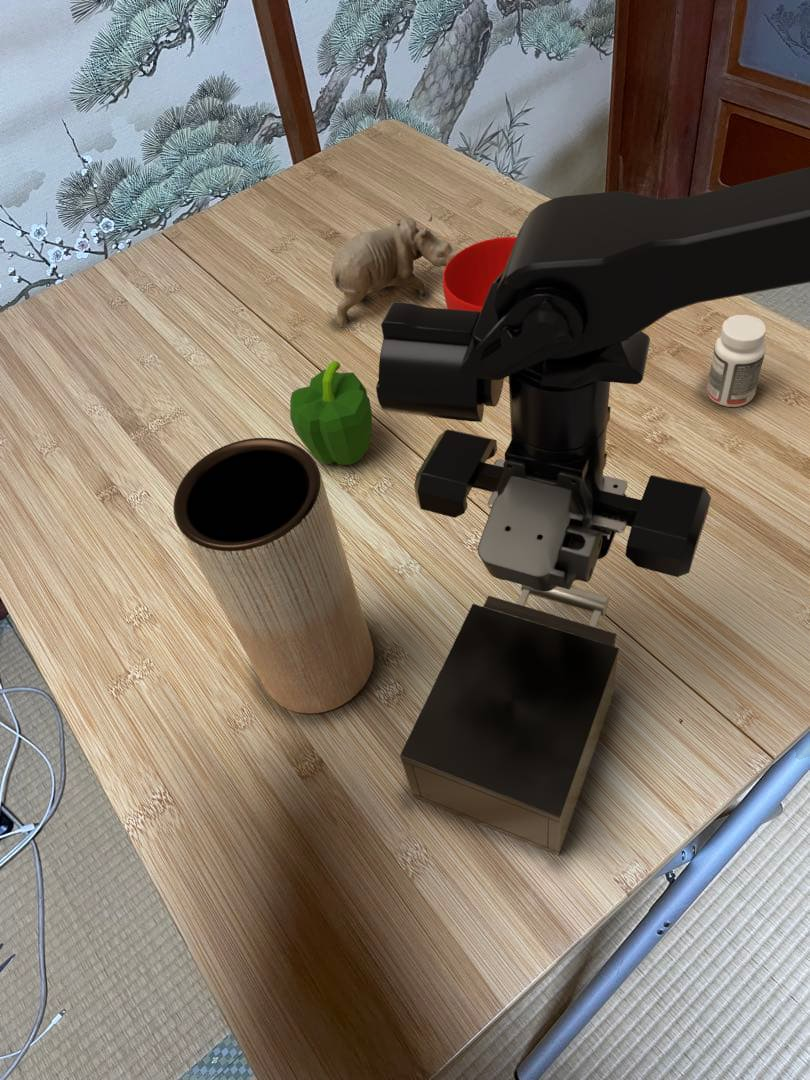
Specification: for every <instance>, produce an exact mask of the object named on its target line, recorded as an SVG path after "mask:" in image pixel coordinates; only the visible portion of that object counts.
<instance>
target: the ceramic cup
mask: <svg viewBox="0 0 810 1080" xmlns="http://www.w3.org/2000/svg"><path fill="white" fill-rule="evenodd" d="M516 238H517V236H506V237H496V238H490V239H485V240H481V241H479V242H476V243H473V244H471V245H469V246H467V247H464V248H463V249H462V250H459V251H460V252H459V253H457V254H456V255H455V256H454V257H453V258H452V259H451V260H450V261H449V263H448V264H447V265H446V266H444V267H445V268H444V270H443V273H442V289H443V296H444V301H445V304H446V309H453V310H467V311H479V312H480V313H481V310H482V308H483V305H484V302H485V300H486V297H487V295H488V292H489V290H490V287H491V285H492V283H493V282H494V281H495V279H496V278H497V277H498V276H499V275H500V274H501V272H502V271H503V270H504V269H505V267H506V264H507V262H508V259H509V256H510V254H511V251H512V249H513V246H514V243H515V241H516Z"/></svg>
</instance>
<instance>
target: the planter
mask: <svg viewBox="0 0 810 1080" xmlns="http://www.w3.org/2000/svg"><path fill="white" fill-rule="evenodd" d="M330 503H331V502H330V501H329V497H328V493H327V491H326V487H325V484H324V481H323V478H322V474H321V471H320V469H319V466H318V464H317V463H316V461H315V459H314V458H313V457H312V456H311V454H309V452H307V451H306V450H305V449H303V447H301V446H299V445H297V444H295V443H293V442H290V441H287V440H284V439H280V438H273V437H253V438H246V439H242V440H238V441H234V442H231V443H229V444H228V443H227V444H226V445H223V446H221V447H218V448H216V449H215V450H213V451H211V452H210V453H208V454H206V455H205V456H204V457H203V458H201V459H200V460H198V461H197V462H196V463H195V464H194V465H193V466H192V467H191V468H190V469H189V470H188V471H187V472H186V474H185V475H184V477H182V479H181V481H180V483H179V485H178V487H177V489H176V492H175V495H174V498H173V506H172V507H173V508H172V509H173V517H174V521H175V523H176V526H177V528H178V530H179V532H180V534H181V536H182V537H183V539H184V542H185V544H186V545H187V547H188V548H189V550H190V552H191V555H192V556H193V558H194V560H195V561H196V563H197V566H198V567H199V569H200V571H201V572H202V575H203V576H204V578H205V580H206V582H207V584H208V586H209V588H210V589H211V591H212V593H213V595H214V597H215V599H216V601H217V602H218V604H219V606H220V608H221V610H222V611H223V613H224V615H225V617H226V619H227V621H228V622H229V625H230V626H231V628H232V630H233V632H234V634H235V635H236V638H237V640H238V641H239V643H240V645H241V646H242V649H243V651H244V652H245V654H246V656H247V658H248V660H249V662H250V664H251V665H252V667H253V670H254V671H255V673H256V675H257V677H258V678H259V680H260V682H261V684H262V685H263V687H264V689H265V690H266V691H267V693H268V695H269V696H270V697H271V698H272V699H273V700H274V701H275V702H276V703H277V704H279V705H280V706H281V707H283V708H285V709H287V710H289V711H292V712H295V713H301V714H319V713H324V712H328V711H329V712H330V711H331V710H335V709H337V708H340V707H341V706H343V705H345V704H346V703H348V702H349V701H351V700H352V699H353V698H355V697H356V695H358V693H360V692H361V690H362V689H363V688H364V686H365V685H366V683H367V681H368V680H369V677H370V676H371V673H372V670H373V667H374V661H375V660H374V659H375V658H374V657H375V655H374V646H373V642H372V637H371V634H370V631H369V627H368V625H367V624H368V623H367V621H366V617H365V615H364V611H363V608H362V605H361V602H360V598H359V595H358V592H357V588H356V585H355V582H354V578H353V576H352V575H353V574H352V572H351V569H350V565H349V562H348V559H347V556H346V552H345V549H344V546H343V542H342V540H341V539H342V538H341V536H340V533H339V530H338V526H337V523H336V520H335V517H334V516H335V515H334V513H333V510H332V507H331V504H330Z"/></svg>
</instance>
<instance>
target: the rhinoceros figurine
mask: <svg viewBox="0 0 810 1080" xmlns="http://www.w3.org/2000/svg"><path fill="white" fill-rule="evenodd" d="M432 221H433V214H430V215H429V216H428V219H427V222H428V223H431V222H432ZM394 222H395V223H392V224H391V225H390V226H387V227H383V228H379V229H376V230H375V229H374V230H370V231H365V232H362V233H359V234H356V235H354V236H353V237H352V238H350V239H348V240H347V241H346V242H344V243H343V244H341V246H340V247H339V248H338V250H337V251H336V252H335V254H334V256H333V260H332V264H331V271H330V273H331V277H332V282H333V286H334V287H335V288H336V289H338V290H339V291H340V292H341V293H343V295H344V297H343V298H342V300H341V301H340V302H339V303H338V304H337V308H336V315H335V320H336V324H338V325H339V326H340V328H344V327H347V326H349V325H350V324H351V323H352V320H351V319H350V316H349V315H348V312H349V310H350V309H352V308H353V307H354V306H356V305H358V304H359V303H363V302H366V301H367V297H368V296H369V295H368V294H369V293H372V292H375V291H379V290H382V289H384V288H387V287H403V288H409V287H413V288H416V290H418V296H419V297H418V298H419V299H420V300H424V299H425V297H427V296H428V292H426V284H425V282H424V281H423V279H421V278H420V277H419V276H417V275H415V273H414V270H415V267H414V261H417V260H418V259H421V258H422V257H423V258H424V259H425V260H426V261H428V262H430V263H431V265H433V267H436V268H440V267H446V265H447V264H448V263H449V261H450V260H451V259H452V258H453V257H454V256H455V255H456V254H457V253H459V252H460V251H461V250H458V249H457V250H455V249H453V247H452V246H451V244H450V242H448V241H443V240H440V239H439V238H437V236H435V235H434V234H433V233H432V232H431V230H429V229H428V226H427V225H425V227H424V228H422V227H419V228H418V227H417V221H415V219H414V218H412V217H404V218H402V219H400V220H399V219H398V220H395V221H394Z"/></svg>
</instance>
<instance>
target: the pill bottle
mask: <svg viewBox="0 0 810 1080" xmlns="http://www.w3.org/2000/svg"><path fill="white" fill-rule="evenodd" d="M766 333H767V326H766V324H765V323H764V322H763V320H761V319H760V318H758V317H756V316H754V315H750V314H737V315H733V316H730V317H728V318H726V319H725V320H724V321H723V323H722V326H721V329H720V334H719V336H718V338H717V339H716V341H715V344H714V346H713V347H714V348H713V352H712V353H713V354H712V359H711V364H710V370H709V375H708V379H707V384H706V393H707V395H708V397H709V399H710V400H711V401H713V402H714V403H716V404H718V405H720V406H722V407H723V406H724V407H726V408H727V407H728V408H736V407H743V406H744V405H747V404H748V403H749V402H751V401H752V400H753V399H754V397H755V395H756V391H757V387H758V384H759V383H758V382H759V379H760V374H761V371H762V367H763V363H764V359H765V355H766V342H765V336H766Z"/></svg>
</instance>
